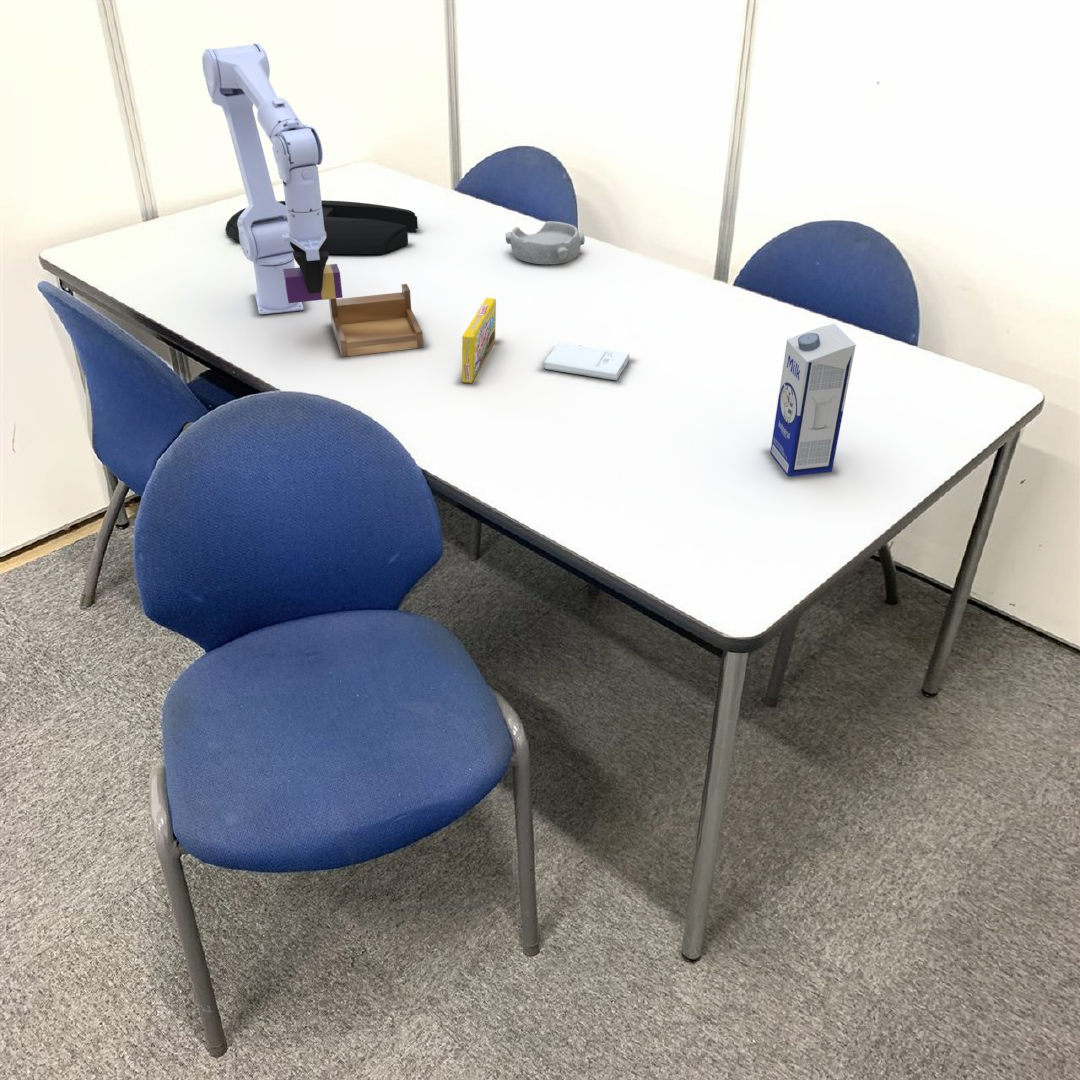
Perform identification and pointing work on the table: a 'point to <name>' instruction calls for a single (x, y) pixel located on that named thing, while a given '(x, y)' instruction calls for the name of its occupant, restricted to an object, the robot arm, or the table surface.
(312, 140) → the robot arm
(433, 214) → the table surface
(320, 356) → the table surface
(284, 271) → the chocolate bar
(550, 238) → the dish
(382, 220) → the docking station
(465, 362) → the candy box
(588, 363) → the hard drive
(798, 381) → the milk carton
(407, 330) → the tray
